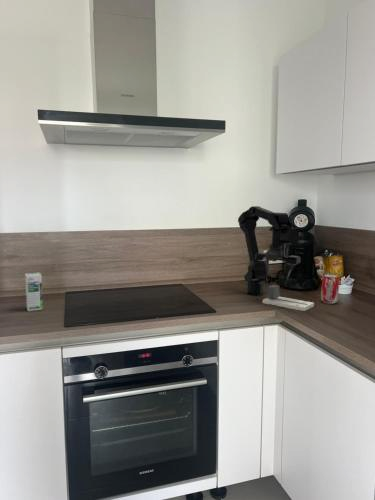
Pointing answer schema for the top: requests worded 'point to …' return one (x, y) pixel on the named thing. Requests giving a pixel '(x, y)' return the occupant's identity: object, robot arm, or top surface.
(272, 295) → the fader knob
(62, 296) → the top surface
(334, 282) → the soda can
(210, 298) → the top surface
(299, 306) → the fader panel
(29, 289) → the syrup box
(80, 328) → the top surface
